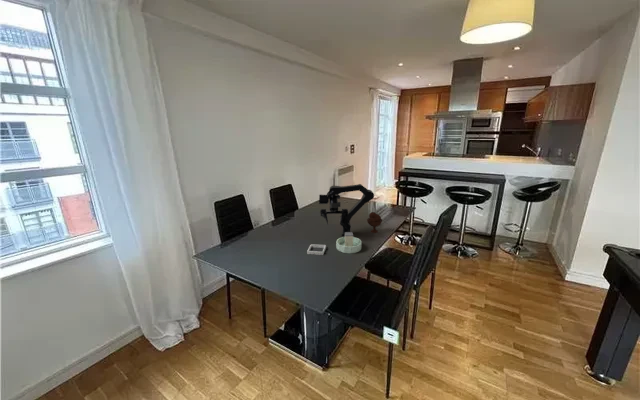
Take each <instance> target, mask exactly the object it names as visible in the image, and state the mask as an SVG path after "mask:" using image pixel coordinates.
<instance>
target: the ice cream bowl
mask: <svg viewBox="0 0 640 400" xmlns="http://www.w3.org/2000/svg"><path fill="white" fill-rule="evenodd" d="M366 222H367V224H368V225H369V226H370V227H372V229H371V230H370V233H373V234H377V233H378V232H379V231H378V230H377V229H376V228H378V227H379V226H380V225H382V222H383V219H382V217H381V215H380V214H378V213H376V212H374V211H372V212H370V213H369V215H368V218H367V219H366ZM378 234H379V233H378Z"/></svg>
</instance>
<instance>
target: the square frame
mask: <svg viewBox="0 0 640 400" xmlns="http://www.w3.org/2000/svg"><path fill="white" fill-rule="evenodd" d="M312 248H320V249H322V251H316V250H311V249H312ZM326 249H327V245H326V244H310V245H309V246H308V249H307V251H306V253H307V255H319V256H324V255H325V254H324V253H325V251H326Z"/></svg>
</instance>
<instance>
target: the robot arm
mask: <svg viewBox="0 0 640 400" xmlns="http://www.w3.org/2000/svg"><path fill="white" fill-rule="evenodd" d="M328 190H329V191H328V192H327V193H326V194H319V195H318V196H319V198H318V204H319V205H328V203H329V210H327V209H326V208H325V209H324V208H321V209H320V211H319V214H320V217H322V218H324V219H325V221H326V225H329V223H328V222H329V221H328V215H333V214H334V215H339V214H340V216H339V224H340V226H342V233H341V237H345V232H351V227H352V225H351V220H352V218H353V216H354V215H356V213H357V212H358V211H360V210H361V208H362V207H363V206H365V204H366V203H369V202H371V201H372V200H373V199H374V198H375V193H374V192H373V191H372V190H371V189H368V188H366V187H365V186H363V184H361V183H359V184H351V185H341V186H340V185H331V186H330V187H329V189H328ZM357 191H359V192H360V193H362V196H361V198H360V199H359V200H358V201H357V202H356V203H355V204H354V206H353V207H351V209H350V210H349V209H348V208H341V202H340V201H339V199H341V195H340V194H342V193H343V194H344V193H350V192H357ZM339 208H341V210H339Z"/></svg>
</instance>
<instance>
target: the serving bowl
mask: <svg viewBox="0 0 640 400" xmlns="http://www.w3.org/2000/svg"><path fill="white" fill-rule="evenodd" d="M335 243H336V244H335V247H336V250H337V251H338V252H341V253H343V254H357V253H359V252H360V251H361V250H362V240H361V239H360V238H358V237H355V236H353V247H345V236H341V237H339V238H338V239H336V242H335Z"/></svg>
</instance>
